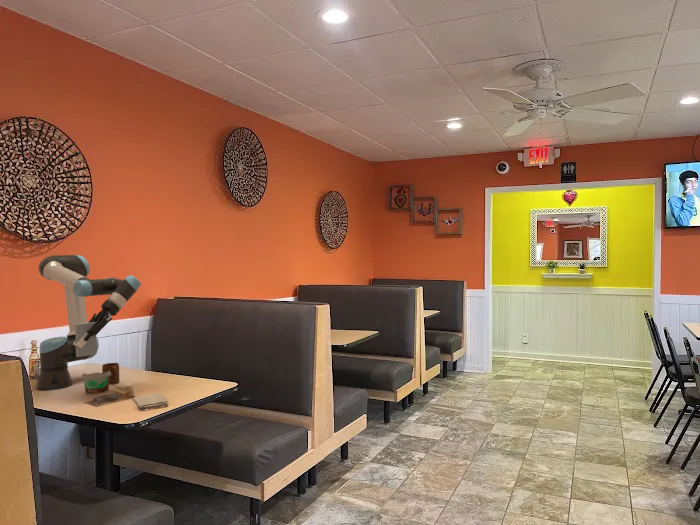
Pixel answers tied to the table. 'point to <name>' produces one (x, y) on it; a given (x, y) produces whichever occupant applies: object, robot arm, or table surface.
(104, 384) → the food container
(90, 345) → the tall panel
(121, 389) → the offcut stack
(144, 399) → the washcloth
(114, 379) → the mug
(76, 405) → the table surface
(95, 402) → the brown rectangular board
